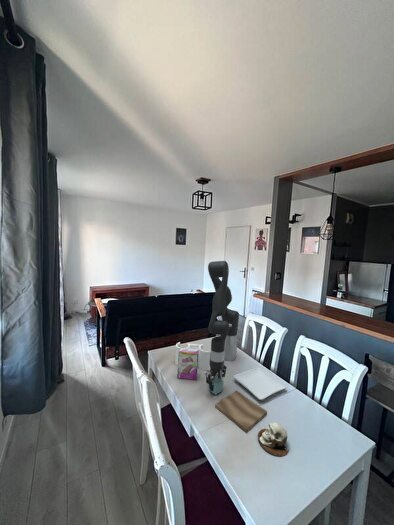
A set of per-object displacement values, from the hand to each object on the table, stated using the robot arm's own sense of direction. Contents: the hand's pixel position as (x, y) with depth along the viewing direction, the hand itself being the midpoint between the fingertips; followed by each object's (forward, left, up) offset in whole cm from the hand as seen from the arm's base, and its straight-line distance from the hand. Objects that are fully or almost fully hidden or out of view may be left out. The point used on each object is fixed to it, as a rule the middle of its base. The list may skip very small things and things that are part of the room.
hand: (215, 387), depth 117 cm
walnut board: (0, +17, -2) cm, 17 cm away
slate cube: (0, 0, -1) cm, 1 cm away
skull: (+3, +35, -2) cm, 36 cm away
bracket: (-7, -25, -2) cm, 26 cm away
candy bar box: (+4, -18, -2) cm, 19 cm away
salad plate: (-23, +12, -2) cm, 26 cm away
